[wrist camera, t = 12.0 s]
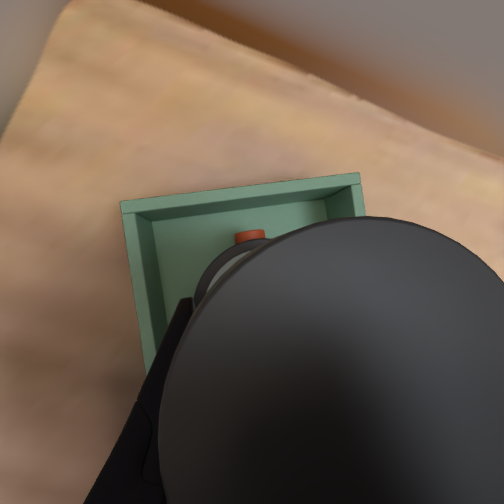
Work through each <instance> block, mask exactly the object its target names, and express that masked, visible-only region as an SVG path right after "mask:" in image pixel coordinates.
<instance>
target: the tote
mask: <svg viewBox="0 0 504 504" xmlns="http://www.w3.org/2000/svg"><path fill="white" fill-rule="evenodd" d="M120 208H121V213H122V214H123V215H122V221H123V228H124V234H125V241H126V247H127V253H128V260H129V266H130V273H131V279H132V286H133V292H134V299H135V305H136V312H137V318H138V325H139V331H140V338H141V344H142V351H143V357H144V363H145V370H146V376H147V374H148V372H149V369H150V367H151V365H152V362H153V360H154V358H155V355H156V353H157V351H158V349H159V346H160V344H161V342H162V339H163V337H164V335H165V332H166V330H167V328H168V326H169V323H170V321H171V319H172V316H173V314H174V312H175V309H176V307H177V305H178V303H179V300H180V299H181V298H186V297H192V298H193V299H194V294H195V291H196V287H197V285H198V282H199V280H200V278H201V276H202V275H203V273H204V271H205V270H206V268H207V267H208V266H209V265H210V264H211V262H212V261H213V260H214V259H215V258H216V257H217V256H219V255H220V254H221V253H222V252H224V251H225V250H227V249H228V248H230V247H232V246H234V245H236V242H235V236H234V235H235V234H236V233H239V232H243V231H249V230H257V229H263V230H264V231H265V238H272V239H273V238H275V237H277V236H279V235H282V234H285V233H288V232H291V231H293V230H296V229H299V228H302V227H304V226H307V225H310V224H313V223H317V222H321V221H326V220H331V219H336V218H342V217H356V216H366V212H365V206H364V199H363V192H362V186H361V179H360V173H359V172H356V173H348V174H340V175H332V176H323V177H315V178H307V179H299V180H290V181H282V182H274V183H266V184H258V185H249V186H241V187H233V188H225V189H217V190H208V191H200V192H192V193H184V194H176V195H167V196H159V197H151V198H143V199H135V200H126V201H120Z"/></svg>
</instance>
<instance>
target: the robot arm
mask: <svg viewBox="0 0 504 504" xmlns="http://www.w3.org/2000/svg"><path fill="white" fill-rule="evenodd" d="M195 309H196V307H195V303H194V300H193V298H192V297H186V298H181V299H180V300H179V303H178V305H177V307H176V309H175V312H174V314H173V316H172V319H171V321H170V323H169V326H168V328H167V330H166V332H165V335H164V337H163V339H162V342H161V344H160V346H159V349H158V351H157V353H156V355H155V358H154V360H153V362H152V365H151V367H150V369H149V372H148V374H147V376H146V379H145V381H144V383H143V385H142V388H141V390H140V392H139V395H138V397H137V401H136V402H135V404H134V406H133V408H132V411H131V413H130V415H129V417H128V419H127V422H126V424H125V426H124V428H123V430H122V432H121V434H120V436H119V438H118V440H117V442H116V444H115V446H114V448H113V450H112V452H111V454H110V456H109V457H108V459H107V461H106V463H105V465H104V466H103V468H102V470H101V472H100V474H99V476H98V477H97V479H96V481H95V483H94V485H93V486H92V488H91V490H90V492H89V494H88V495H87V497H86V499H85V501H84V503H83V504H168V503H167V500H166V495H165V491H164V486H163V482H162V477H161V473H160V463H159V451H158V429H159V411H160V406H161V401H162V395H163V390H164V384H165V380H166V377H167V374H168V371H169V368H170V365H171V362H172V359H173V356H174V353H175V351H176V348H177V346H178V344H179V342H180V339H181V337H182V335H183V333H184V331H185V329H186V326H187V324H188V322H189V320H190V318H191V316H192V314H193V312H194V311H195Z"/></svg>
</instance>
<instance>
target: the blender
mask: <svg viewBox="0 0 504 504" xmlns="http://www.w3.org/2000/svg"><path fill="white" fill-rule="evenodd" d="M234 236H235V242H236V245H234V246H232V247H230V248H228V249H227V250H225V251H224V252H222V253H221V254H220V255H219V256H217V257H216V258H215V259H214V260H213V261H212V262H211V264H210V265H209V266H208V267H207V268H206V270H205V271H204V273H203V275H202V276H201V278H200V280H199V282H198V285H197V287H196V291H195V294H194V299H193V300H194V303H195V307H196V309H195V311H194V312H193V314H192V316H191V318H190V320H189V322H188V324H187V326H186V329H185V331H184V333H183V335H182V337H181V339H180V342H179V344H178V346H177V348H176V351H175V353H174V356H173V359H172V362H171V365H170V368H169V371H168V374H167V377H166V380H165V384H164V390H163V395H162V401H161V406H160V411H159V429H158V451H159V463H160V473H161V477H162V482H163V486H164V491H165V495H166V500H167V503H168V504H504V282H503V281H502V280H501V279H500V277H499V276H498V275H497V274H496V273H495V272H494V271H493V270H492V269H491V268H490V267H489V266H488V265H487V264H486V263H485V262H484V261H482V260H481V259H480V258H479V257H478V256H477V255H475V254H474V253H473V252H471V251H470V250H468V249H467V248H465V247H464V246H463V245H461V244H460V243H458V242H456V241H454V240H453V239H451V238H449V237H447V236H445V235H443V234H441V233H439V232H437V231H435V230H432V229H429V228H427V227H424V226H421V225H418V224H415V223H413V222H408V221H403V220H398V219H393V218H388V217H373V216H356V217H342V218H336V219H331V220H326V221H321V222H317V223H313V224H310V225H307V226H304V227H302V228H299V229H296V230H293V231H291V232H288V233H285V234H282V235H279V236H277V237H275V238H273V239H272V238H265V231H264V230H263V229H257V230H249V231H243V232H239V233H236V234H235V235H234Z"/></svg>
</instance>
